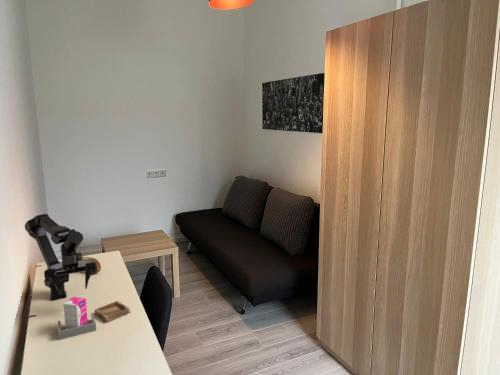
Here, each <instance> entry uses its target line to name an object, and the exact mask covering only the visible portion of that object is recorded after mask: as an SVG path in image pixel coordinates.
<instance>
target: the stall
mask: <svg viewBox="0 0 500 375" xmlns="http://www.w3.org/2000/svg"><path fill="white" fill-rule="evenodd" d="M90 316H91V323H90V322H89V323H88V324H86V325H82V326H78V327H74V328H70V329H62V323H61V320H57V334H58V340H64V339H68V338H72V337H77V336H80V335H83V334H84V335H85V334H88V333H91V332H96V331H97V324H96V319H95V312H91V313H90Z"/></svg>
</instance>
